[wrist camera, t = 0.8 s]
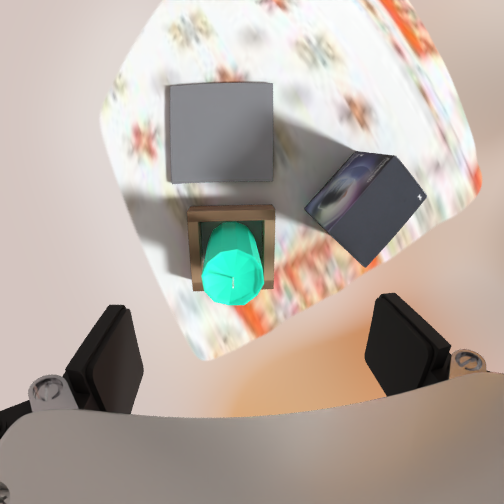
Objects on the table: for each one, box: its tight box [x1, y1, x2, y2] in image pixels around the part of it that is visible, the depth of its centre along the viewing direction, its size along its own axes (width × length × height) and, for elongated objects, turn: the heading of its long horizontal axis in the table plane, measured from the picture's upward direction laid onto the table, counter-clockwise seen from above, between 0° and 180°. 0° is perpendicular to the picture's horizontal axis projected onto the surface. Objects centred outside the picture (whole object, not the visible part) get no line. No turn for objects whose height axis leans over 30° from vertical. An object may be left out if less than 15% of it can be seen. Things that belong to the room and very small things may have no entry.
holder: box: [187, 205, 275, 291], centre depth 37 cm, size 10×10×3 cm
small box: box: [304, 151, 427, 267], centre depth 32 cm, size 11×6×10 cm, turn 139°
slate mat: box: [170, 83, 273, 184], centre depth 33 cm, size 12×12×1 cm
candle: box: [201, 221, 264, 305], centre depth 32 cm, size 6×6×12 cm
